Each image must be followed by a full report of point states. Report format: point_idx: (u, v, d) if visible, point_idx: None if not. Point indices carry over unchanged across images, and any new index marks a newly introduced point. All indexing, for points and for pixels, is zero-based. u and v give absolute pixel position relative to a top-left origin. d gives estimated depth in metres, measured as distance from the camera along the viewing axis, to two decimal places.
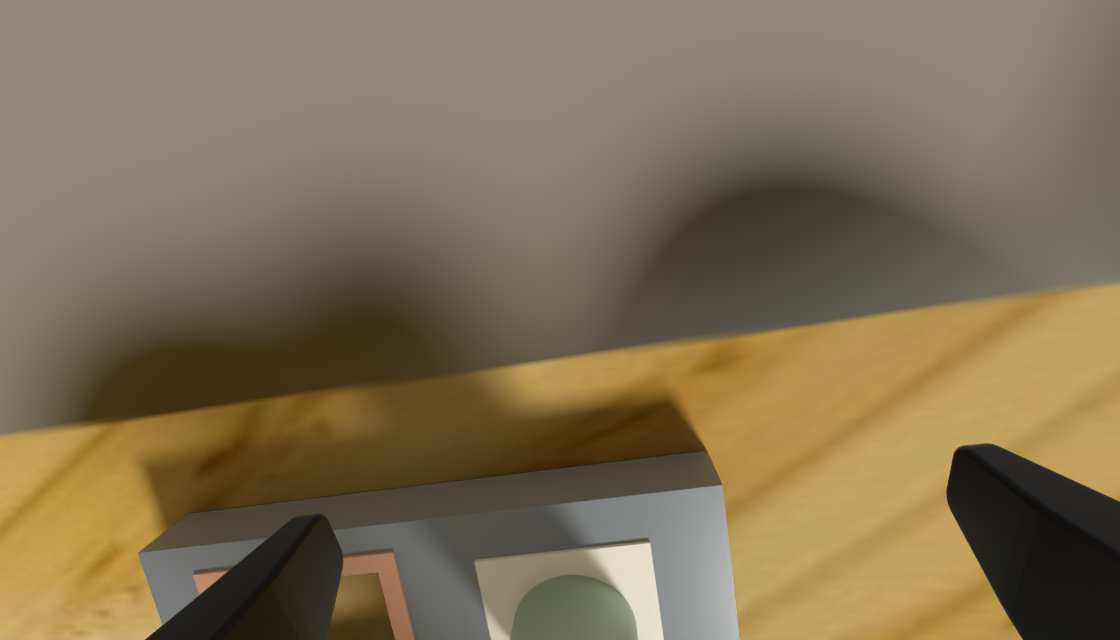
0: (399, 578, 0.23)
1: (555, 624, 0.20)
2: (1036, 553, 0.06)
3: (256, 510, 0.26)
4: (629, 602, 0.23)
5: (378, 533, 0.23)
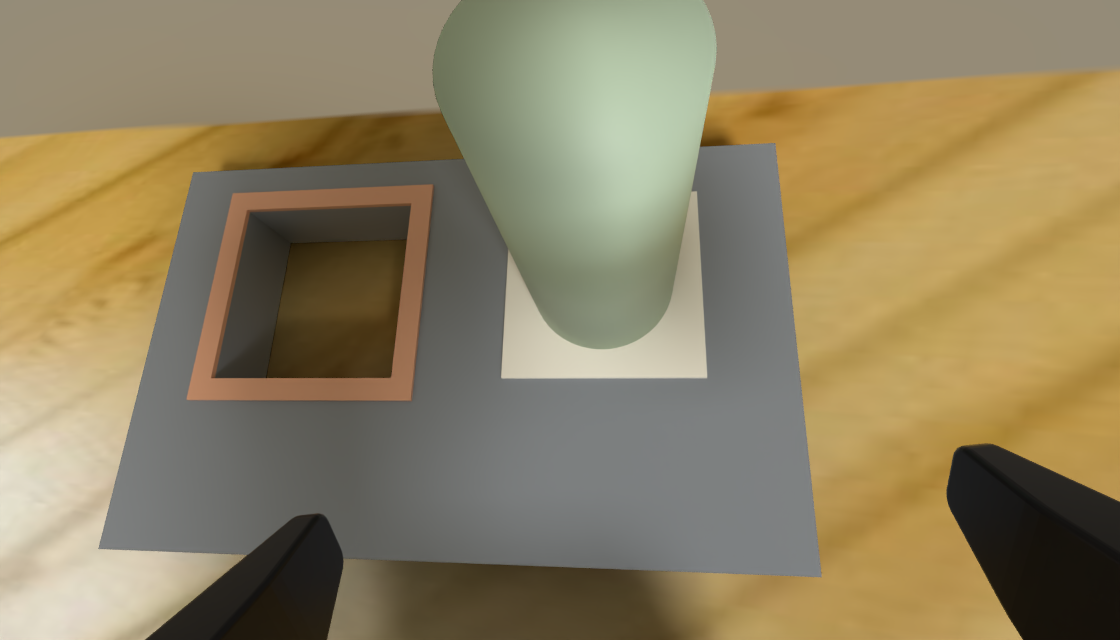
0: (430, 212, 0.22)
1: None
2: (1036, 553, 0.06)
3: None
4: None
5: (425, 168, 0.23)
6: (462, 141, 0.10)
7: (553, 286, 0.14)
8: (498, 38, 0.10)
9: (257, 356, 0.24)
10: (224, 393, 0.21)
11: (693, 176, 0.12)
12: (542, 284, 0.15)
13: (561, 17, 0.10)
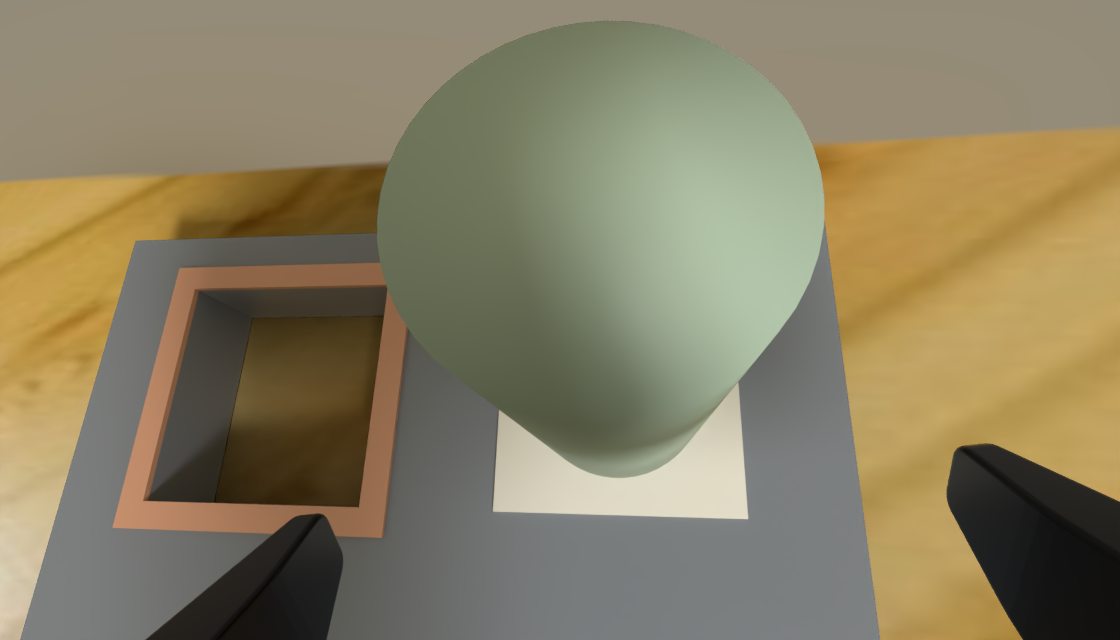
0: None
1: None
2: (1036, 553, 0.06)
3: None
4: None
5: None
6: (419, 341, 0.06)
7: (558, 450, 0.11)
8: (479, 168, 0.07)
9: (206, 460, 0.20)
10: (158, 521, 0.17)
11: None
12: (544, 443, 0.11)
13: (577, 137, 0.07)
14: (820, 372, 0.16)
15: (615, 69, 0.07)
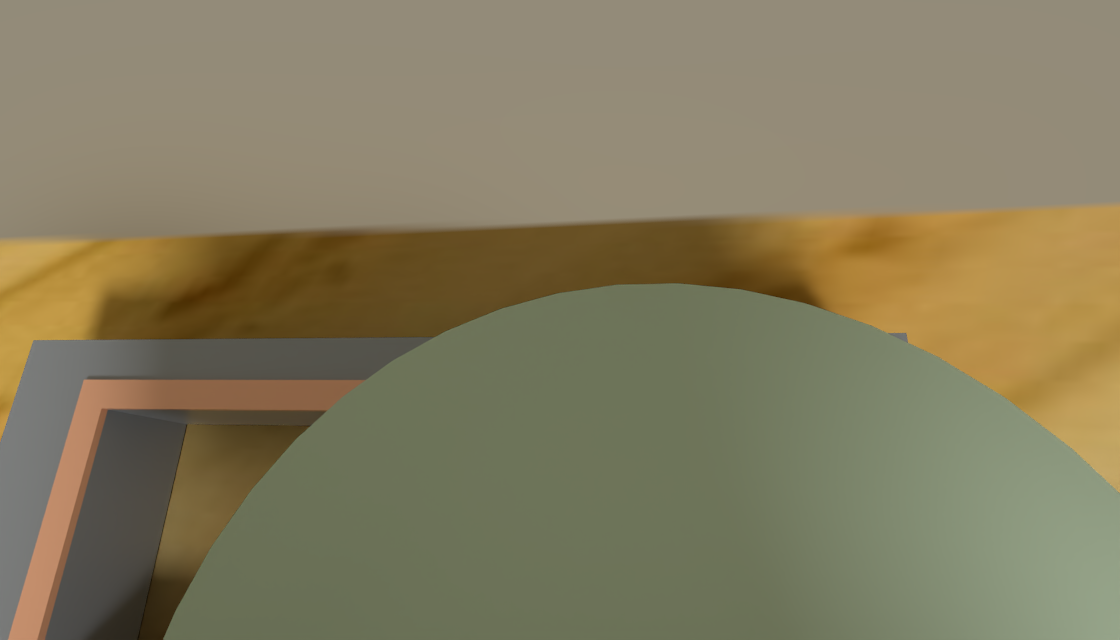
0: None
1: None
2: None
3: None
4: None
5: (366, 350, 0.15)
6: None
7: None
8: None
9: (119, 619, 0.16)
10: None
11: None
12: None
13: (619, 639, 0.03)
14: None
15: (714, 429, 0.03)
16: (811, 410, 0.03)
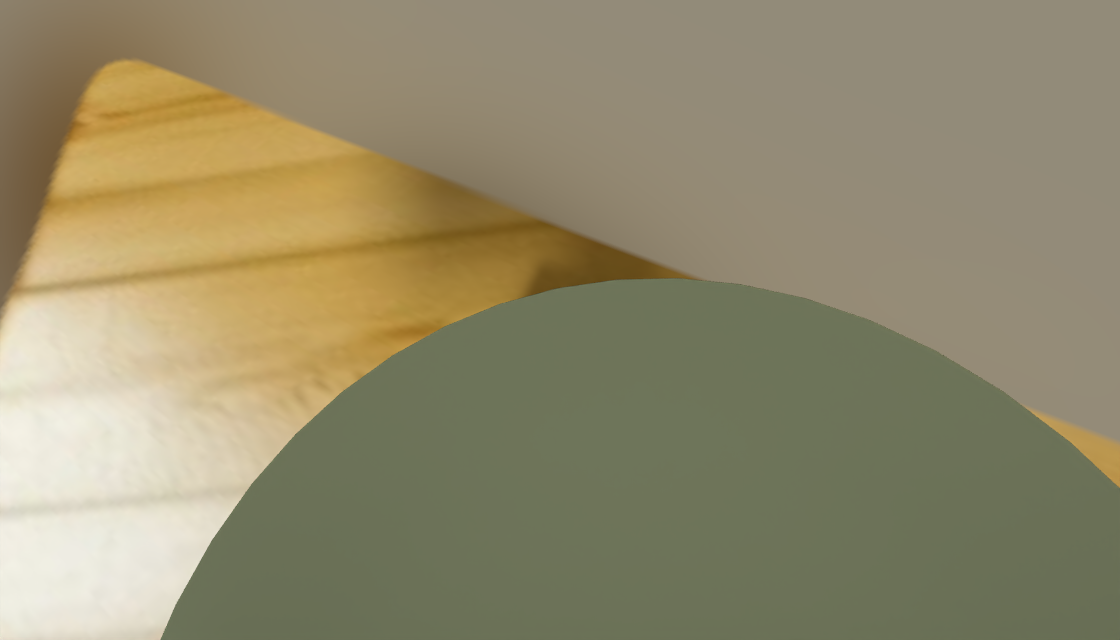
0: None
1: None
2: None
3: None
4: None
5: None
6: None
7: None
8: None
9: None
10: None
11: None
12: None
13: (619, 632, 0.03)
14: None
15: (712, 423, 0.03)
16: (810, 404, 0.03)
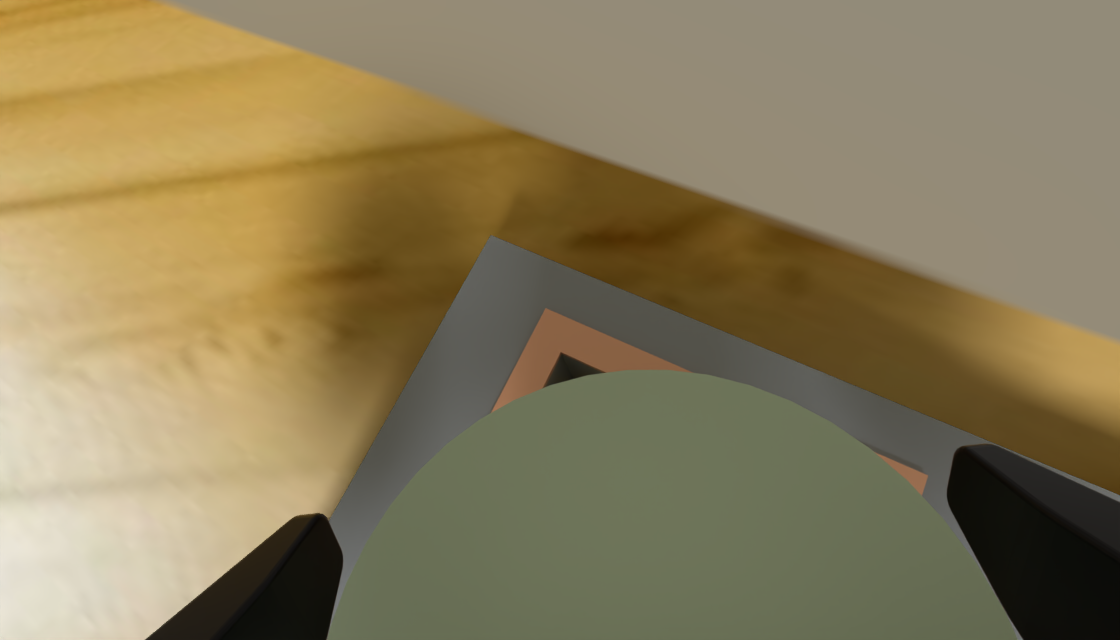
0: None
1: None
2: (1036, 553, 0.06)
3: None
4: None
5: (913, 428, 0.12)
6: None
7: None
8: None
9: None
10: None
11: None
12: None
13: (630, 598, 0.04)
14: None
15: (689, 468, 0.04)
16: (751, 455, 0.04)
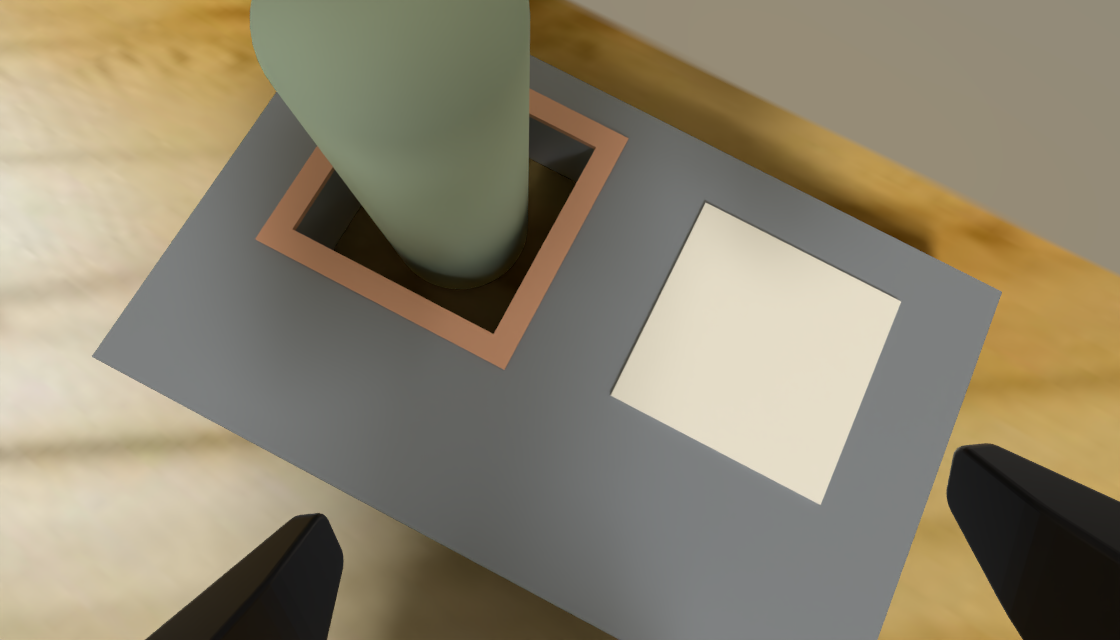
0: (611, 169, 0.19)
1: None
2: (1036, 553, 0.06)
3: None
4: (840, 354, 0.18)
5: (626, 114, 0.19)
6: (278, 92, 0.10)
7: (394, 230, 0.15)
8: None
9: (340, 218, 0.20)
10: (301, 254, 0.17)
11: (522, 141, 0.13)
12: (385, 227, 0.15)
13: None
14: (933, 418, 0.18)
15: None
16: None
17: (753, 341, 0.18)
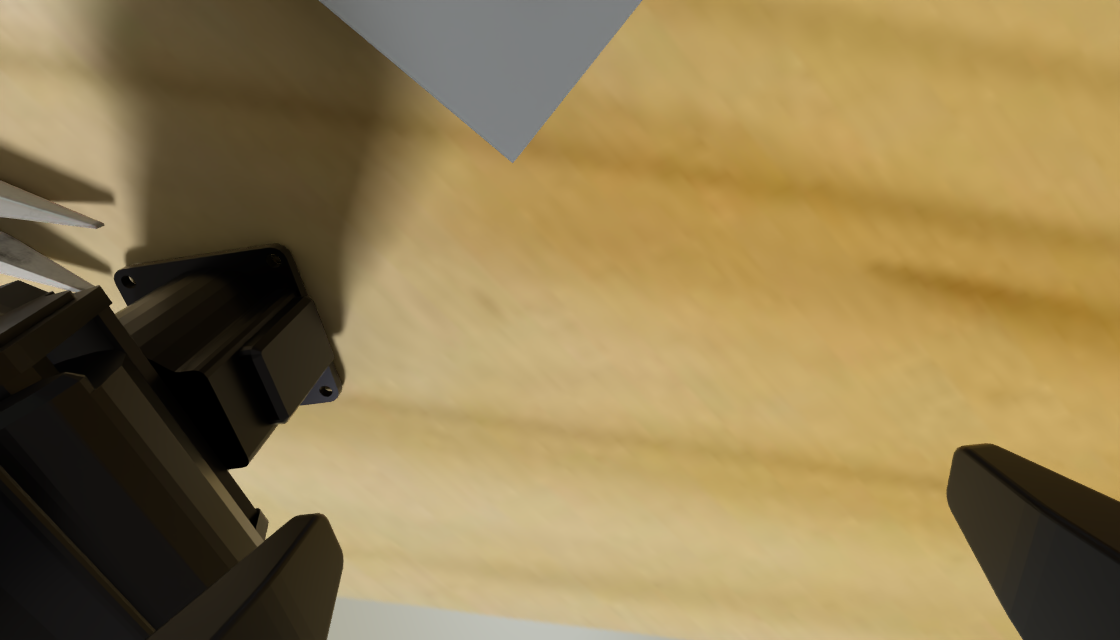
0: None
1: None
2: (1036, 553, 0.06)
3: None
4: None
5: None
6: None
7: None
8: None
9: None
10: None
11: None
12: None
13: None
14: None
15: None
16: None
17: None
